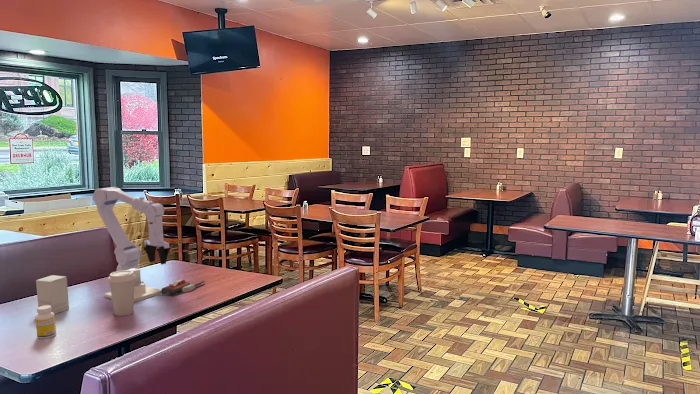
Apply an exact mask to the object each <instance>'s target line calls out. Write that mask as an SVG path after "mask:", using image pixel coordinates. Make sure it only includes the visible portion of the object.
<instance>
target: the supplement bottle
mask: <svg viewBox="0 0 700 394" xmlns="http://www.w3.org/2000/svg"><path fill="white" fill-rule="evenodd" d="M51 310H52V309H51V306H50V305H45V306H41V307H38V306H37V308H36V312H37V314H36V315H35V318H34V319H35V329H36V337H37V339H39V338H40V340H45V338H47V339H51V338H53V337H55V336H56V335H57V327H56V317H55V314H54V313H53V312H51ZM50 337H51V338H50Z"/></svg>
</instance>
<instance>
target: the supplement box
mask: <svg viewBox="0 0 700 394" xmlns="http://www.w3.org/2000/svg"><path fill="white" fill-rule="evenodd" d="M35 285H36V295H37V296H36V297H37V308H38V307H41V306H45V305H50V306H51V309H52V310H51V312H53V313H54V315H55V314H59V313H61V312H64V311H66V310H69V309H70V303H69V292H68V291H69V290H68V278H67V276H65V275H56V274H55V275H54V274H52V275H48V276H46V277H42V278H39V279H36V280H35Z"/></svg>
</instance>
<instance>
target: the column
mask: <svg viewBox="0 0 700 394" xmlns="http://www.w3.org/2000/svg"><path fill="white" fill-rule="evenodd" d="M129 271H133V272H134V274H135V275H136V278H135V285H134V287H135V286H138V285H141V281H142V280H141V279H142V278H141V269H140V268H139V269H136V268H133V269H129Z"/></svg>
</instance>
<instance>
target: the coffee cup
mask: <svg viewBox="0 0 700 394" xmlns="http://www.w3.org/2000/svg"><path fill="white" fill-rule="evenodd" d="M135 278H136V275H135V274H134V272H133V271H129V270H123V271H116V270H115V271H112V272H111V273H110V274H109V275H108V277H107V282H109V288H110V292H111V296H112V299H111V301H112V307H113V314H114V316H117V317H122V316H128V315H131V314H134V310H135V309H134V307H135V302H134V285H135Z"/></svg>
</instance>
